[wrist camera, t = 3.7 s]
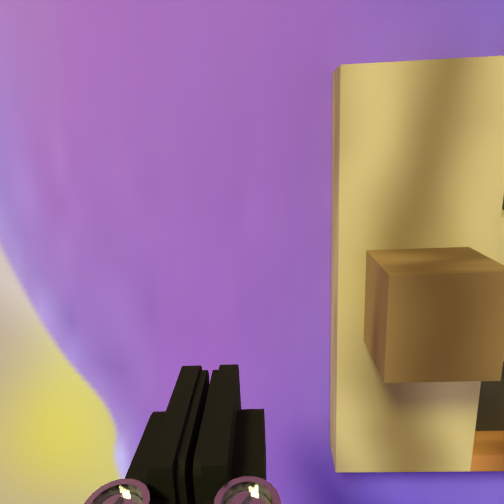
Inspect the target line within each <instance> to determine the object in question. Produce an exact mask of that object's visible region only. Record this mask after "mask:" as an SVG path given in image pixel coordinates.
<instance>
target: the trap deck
mask: <svg viewBox="0 0 504 504" xmlns="http://www.w3.org/2000/svg"><path fill="white" fill-rule="evenodd" d="M447 247H470V248H472V249H474V250H476V251H478V252H479V253H481V254H483V255H485V256H487V257H489V258H491V259H493V260H495V261H496V262H498V263H500V264H502V265H504V56H489V57H471V58H454V59H436V60H418V61H400V62H382V63H364V64H346V65H340V66H339V67H338V68H337V69H336V70H335V71H334V72H333V114H332V250H331V386H330V447H331V452H332V457H333V462H334V467H335V471H336V472H453V471H504V360H503V367H502V374H501V381H464V382H411V383H384V382H383V380H382V378H381V376H380V374H379V372H378V370H377V367H376V365H375V363H374V361H373V359H372V357H371V355H370V353H369V351H368V349H367V347H366V345H365V343H364V310H365V279H366V250H389V249H418V248H447Z"/></svg>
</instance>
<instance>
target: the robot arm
mask: <svg viewBox="0 0 504 504" xmlns="http://www.w3.org/2000/svg"><path fill="white" fill-rule="evenodd" d="M84 504H281V500H280V497H279V494H278V492H277V490H276V489H275V488H274V487H273V485H272V484H271V483H269V482H268V481H266V445H265V420H264V409H244V410H241V399H240V382H239V367H238V365H220V367H219V370H213V372H212V376H211V381H210V384H209V373H208V370H202V367H201V366H182V368H181V371H180V374H179V377H178V379H177V382H176V385H175V388H174V390H173V393H172V396H171V399H170V401H169V404H168V407H167V410H166V411H165V412H153V413H152V414H151V416H150V419H149V421H148V423H147V426H146V428H145V431H144V433H143V436H142V438H141V440H140V443H139V445H138V448H137V450H136V453H135V455H134V457H133V460H132V462H131V465H130V467H129V470H128V472H127V474H126V477H125V479H119V480H115V481H112V482H110V483H108V484H105V485H103V486H101V487H100V488H99V489H98V490H96V491H95V492H94V493H92V495H91V496H90V497H89V498H88V499H87V500H86V502H85V503H84Z"/></svg>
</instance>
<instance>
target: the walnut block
mask: <svg viewBox="0 0 504 504" xmlns="http://www.w3.org/2000/svg"><path fill="white" fill-rule="evenodd" d="M364 343H365V345H366V347H367V349H368V351H369V353H370V355H371V357H372V359H373V361H374V363H375V365H376V367H377V370H378V372H379V374H380V376H381V378H382V380H383V382H384V383H411V382H464V381H501V374H502V367H503V360H504V265H502V264H500V263H498V262H496V261H495V260H493V259H491V258H489V257H487V256H485V255H483V254H481V253H479V252H478V251H476V250H474V249H472V248H470V247H447V248H418V249H389V250H366V279H365V310H364Z"/></svg>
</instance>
